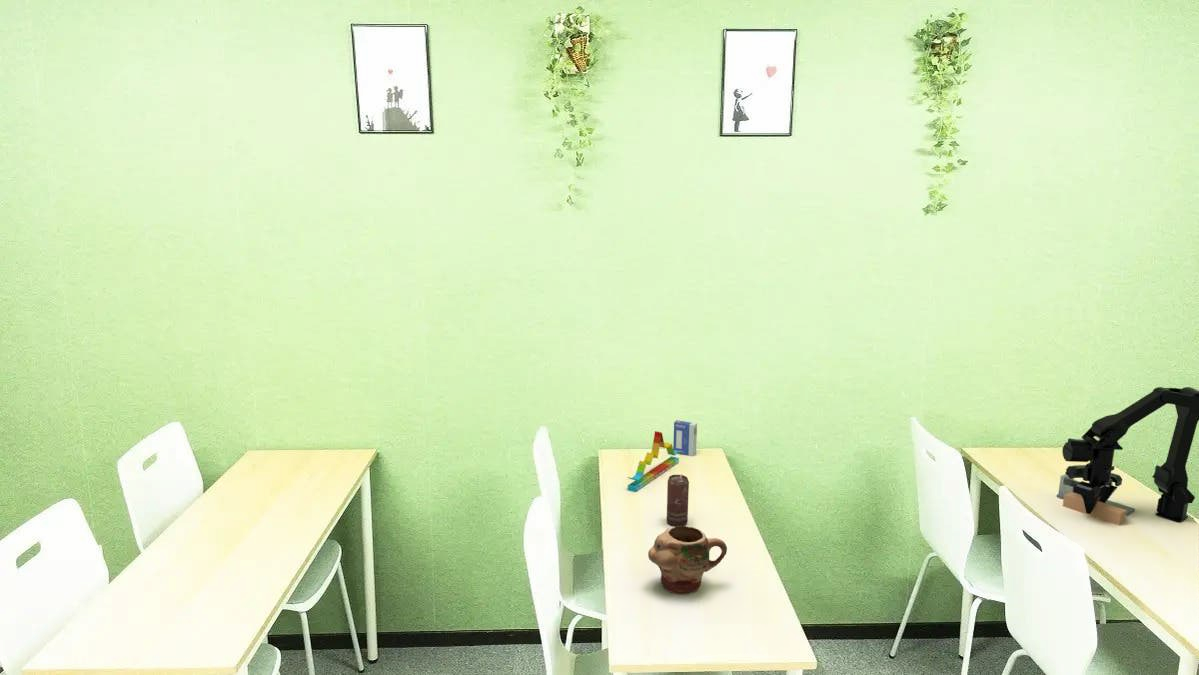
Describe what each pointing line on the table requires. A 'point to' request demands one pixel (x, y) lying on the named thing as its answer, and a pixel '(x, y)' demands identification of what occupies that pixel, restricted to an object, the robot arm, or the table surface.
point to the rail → (1095, 509)
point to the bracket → (1066, 485)
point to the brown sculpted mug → (684, 558)
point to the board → (1129, 509)
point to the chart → (655, 472)
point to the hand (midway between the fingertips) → (1093, 510)
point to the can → (677, 500)
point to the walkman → (685, 438)
